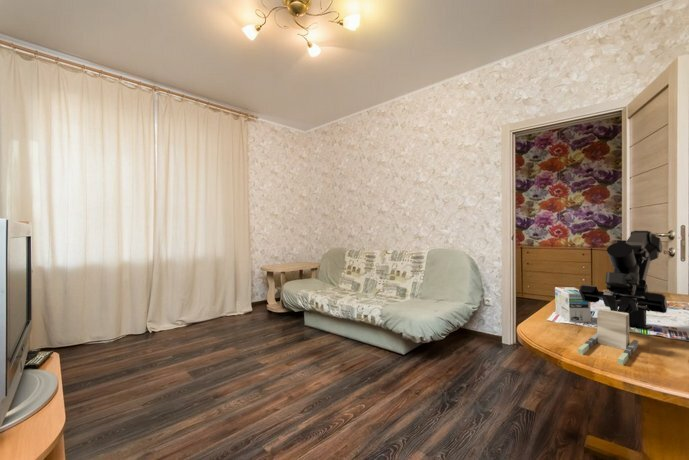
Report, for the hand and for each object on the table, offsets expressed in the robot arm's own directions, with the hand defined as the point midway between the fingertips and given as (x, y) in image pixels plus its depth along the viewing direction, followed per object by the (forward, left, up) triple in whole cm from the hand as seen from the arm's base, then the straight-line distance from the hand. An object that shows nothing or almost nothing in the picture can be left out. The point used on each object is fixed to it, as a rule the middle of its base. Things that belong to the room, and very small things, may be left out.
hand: (615, 322), depth 87 cm
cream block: (+2, +1, -6) cm, 6 cm away
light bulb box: (-8, -21, -7) cm, 23 cm away
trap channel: (+6, +3, -7) cm, 10 cm away
